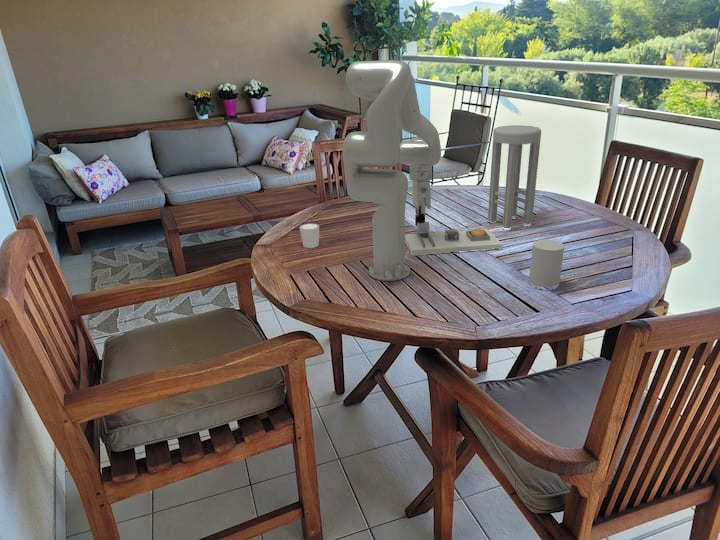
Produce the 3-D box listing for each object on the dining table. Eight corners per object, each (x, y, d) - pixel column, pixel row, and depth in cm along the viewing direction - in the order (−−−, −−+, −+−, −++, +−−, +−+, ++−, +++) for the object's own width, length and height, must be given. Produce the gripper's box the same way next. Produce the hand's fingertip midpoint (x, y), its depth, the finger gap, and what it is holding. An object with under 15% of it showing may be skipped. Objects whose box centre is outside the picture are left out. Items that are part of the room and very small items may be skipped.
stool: (504, 234, 184) (512, 133, 170) (479, 221, 198) (485, 127, 183) (540, 227, 189) (550, 129, 175) (513, 215, 203) (521, 123, 188)
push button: (486, 238, 175) (486, 233, 174) (473, 239, 174) (473, 234, 174) (482, 234, 179) (482, 229, 178) (469, 235, 179) (469, 229, 178)
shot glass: (297, 247, 181) (295, 228, 178) (308, 240, 186) (306, 222, 183) (313, 250, 178) (312, 230, 175) (324, 243, 183) (323, 224, 180)
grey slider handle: (429, 237, 178) (429, 223, 176) (418, 238, 178) (418, 224, 176) (427, 234, 181) (428, 220, 179) (416, 235, 181) (416, 221, 179)
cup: (552, 277, 150) (557, 238, 145) (563, 289, 143) (569, 249, 138) (524, 278, 150) (528, 240, 145) (534, 291, 143) (538, 251, 138)
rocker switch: (458, 237, 173) (458, 231, 173) (449, 238, 173) (449, 232, 172) (454, 235, 178) (454, 229, 178) (445, 235, 178) (445, 229, 178)
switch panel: (501, 249, 171) (502, 239, 169) (411, 256, 169) (411, 245, 168) (487, 234, 185) (488, 224, 183) (404, 239, 183) (404, 229, 181)
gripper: (436, 179, 169) (435, 232, 177) (427, 169, 183) (426, 218, 190) (413, 180, 169) (413, 233, 176) (406, 170, 183) (406, 220, 190)
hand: (420, 225), depth 183 cm, fingers closed
